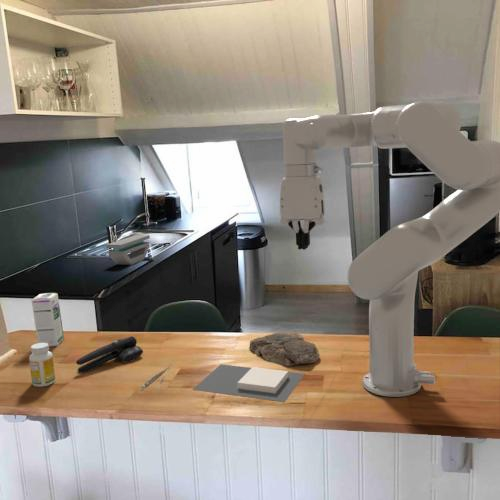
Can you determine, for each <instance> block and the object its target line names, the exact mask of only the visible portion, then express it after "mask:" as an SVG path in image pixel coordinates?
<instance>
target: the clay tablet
mask: <svg viewBox="0 0 500 500" xmlns="http://www.w3.org/2000/svg"><path fill="white" fill-rule="evenodd" d="M248 349H249V350H250V351H251V352H253V354H255V355H256V356H258V357H260V356H262V358H263V359H265V360H266V361H267V362H271V363H274V364H278V365H282V366H285V367H286V368H287V367H294V366H296V365H298V366H299V365H302V364H312V363H314V364H315V363H317V361H318V360H319V359H320V353H319V349H318V348H317V345H316V344H315V343H314V342H310V341H306V340H305V338H304V337H303V336H302V335H301V334H300V333H296V332H282V331H280V332H275V333H272V334H268V335H265V336H262V337H257V338H254V339H252V340H250V341H249V347H248Z"/></svg>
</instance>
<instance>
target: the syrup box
mask: <svg viewBox="0 0 500 500" xmlns="http://www.w3.org/2000/svg"><path fill="white" fill-rule="evenodd" d="M59 300H60V299H59V294H58V293H57V292H46V293H45V292H44V293H39V294H38V295H37V296H35V297H33V298H32V299H31V305H32V312H33V319H34V326H35V333H36V339H37V343H48V346H49V347H58V346H59V344H61V342H63V340H64V339H65V336H64V330H63V321H62V314H61V309H60V301H59Z"/></svg>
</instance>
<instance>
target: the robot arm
mask: <svg viewBox="0 0 500 500" xmlns="http://www.w3.org/2000/svg"><path fill="white" fill-rule="evenodd" d="M461 127H462V117H461V114H460V111H459V110H458V109H457V108H456V107H455V106H454V105H453V104H451V103H449V102H446V101H440V100H420V101H419V100H418V101H415V102H412V103H407V104H398V105H388V106H381V107H378V108H377V109H375V111H372V112H371V111H370V112H369V111H368V112H363V113H352V114H350V113H349V114H319V115H313V116H309V117H295V118H294V117H293V118H288V119H285V120H284V121H283V124H282V138H283V139H282V140H283V141H282V143H283V164H284V177H283V178H282V179H281V184H280V185H281V186H280V193H279V195H280V196H279V214H280V224H281V225H284V226H289V227H290V228H291V230H293V232H294V233H295V245H296V246H297V249H298V250H303V251H304V250H307V249H308V248H309V246H310V244H311V238H310V237H311V236H310V233H311V230H313V228H314V227H317V226H321V225H324V224H325V222H326V220H325V217H324V216H326V215H325V214H326V207H325V196H324V195H325V194H324V189H323V183H322V178H321V176H318V174H319V173H323V170H324V169H323V166H319V164H318V163H317V151H322V150H324V151H325V150H332V149H333V150H334V149H346V148H360V147H377V148H379V149H380V150H381V149H386V150H387V149H402V148H405V149H406V148H407V149H408V151H410V152H411V153H412V155H414V156H415V157H416V158H417V159H418V160H419V161H420V163H422V164H423V165H424V166H425V167H426V168H427V169H428V170H429V171H431V173H433V175H435V176H436V177H437V178H438V179H439V180H440V181H441V182H442V183H444V184H446V186H449V187H450V188H452V189H454V190H456V191H455V192H453V193H451V194H450V195H448V196H447V197H445V198H444V199H443V200H442V201H440V203H439V204H438V205H436V206H435V207H434V208H433V209H431V210H430V211H428V212H427V213H426V214H424V215H422V216H420V217H418V218H416V219H412V220H408V221H406V222H403V223H400V224H398V225H396V226H394V227H392V228H391V229H389V230H387V231H386V232H385V233H384V234H383V235H382V236H380V237H379V238H378V239H377V240H376V241H374V242H373V243H371V244H370V245H369V246H368V247H366V249H364V250H363V251H362V252H361V253H360V254H359V255H357V256H356V257H355V258H354V260H353V261H352V262H351V263H350V265H349V266H348V267H349V268H348V270H347V274H346V275H347V277H346V279H347V284H348V287H349V289H350V290H351V292H352V293H353V294H354V295H355V296H357V297H358V298H360V299H363V300H366V301H367V300H368V301H369V304H368V305H369V307H368V336H369V337H368V338H369V339H368V341H369V342H368V343H369V345H368V347H369V350H368V352H369V354H368V355H369V372H368V373H366V374H365V375H364V376H363V378H362V385H363V387H364V389H365V390H367V391H368V392H370V393H372V394H375V395H379V396H383V397H387V398H388V397H389V398H390V397H391V398H399V397H407V396H411V395H414V394H416V393H417V392H419V391H420V390H421V389H422V388H421V387H422V384H426V385H435V382H436V381H435V380H436V379H435V378H436V377H435V375H431V371H427V370H426V371H425V370H424V371H422V370H420V369H417V363H414V361H415V360H414V358H415V357H414V351H415V350H414V349H415V348H414V344H415V343H414V342H415V341H414V339H415V338H414V334H415V331H414V329H415V323H414V322H415V321H414V320H415V299H416V298H415V296H416V289H417V283H418V278H419V277H418V276H419V272H420V271H421V270H422V269H425V268H426V267H429V266H432V265H433V264H435V263H438V262H439V261H440V260H442V259H443V258H444V257H445V256H446V255H447V254H449V253H450V252H451V251H453V250H454V249H455V248H457V247H458V246H459V245H460V244H462V243H463V242H464V241H466V240H467V239H468V238H470V237H471V236H472V235H473V234H474V233H476V232H477V231H479V230H480V229H481V228H482V227H483V226H485V225H486V224H488V223H489V221H491V220H492V219H493V218H495V217H496V216H497V214H499V212H500V142H499V141H495V140H491V139H490V140H489V139H480V140H470V139H468V137H466V135H464V134H463V133H462V132H461V131H460V130H461ZM302 221H303V227H302Z"/></svg>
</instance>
